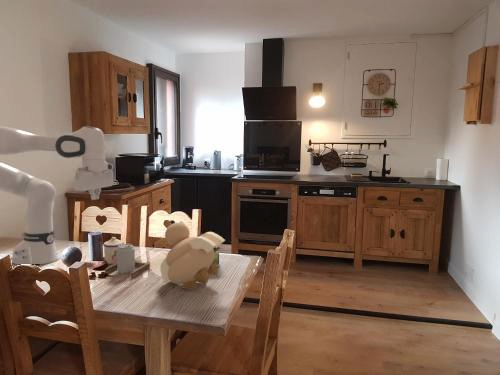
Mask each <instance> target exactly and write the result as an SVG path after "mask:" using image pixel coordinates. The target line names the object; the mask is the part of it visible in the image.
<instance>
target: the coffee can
mask: <svg viewBox="0 0 500 375" xmlns="http://www.w3.org/2000/svg"><path fill="white" fill-rule="evenodd" d="M205 233H206V232H205ZM205 233H200V234H197V237H200V236H201V235H203V234H205ZM216 234H217V235H219V236H220V234H218V233H216ZM213 250H214V253H215V257H214V261H213V263H214V262H216V261H217V267H219V265H220V246H219V247H217V248H216V247H214V248H213ZM213 263H212V264H213Z"/></svg>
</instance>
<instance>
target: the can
mask: <svg viewBox="0 0 500 375" xmlns="http://www.w3.org/2000/svg"><path fill="white" fill-rule="evenodd" d="M135 250H136V249H135V247H134V246H133V243H132V244H131V243H124V244H121V245H119V246H118V249H117V270H116V271H117V272H118V273H119V274H122V275H128V274H131V272H133V271H134V270H136V268H135V261H136V260H135V259H136V258H135V254H136V253H135V252H136V251H135Z"/></svg>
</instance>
